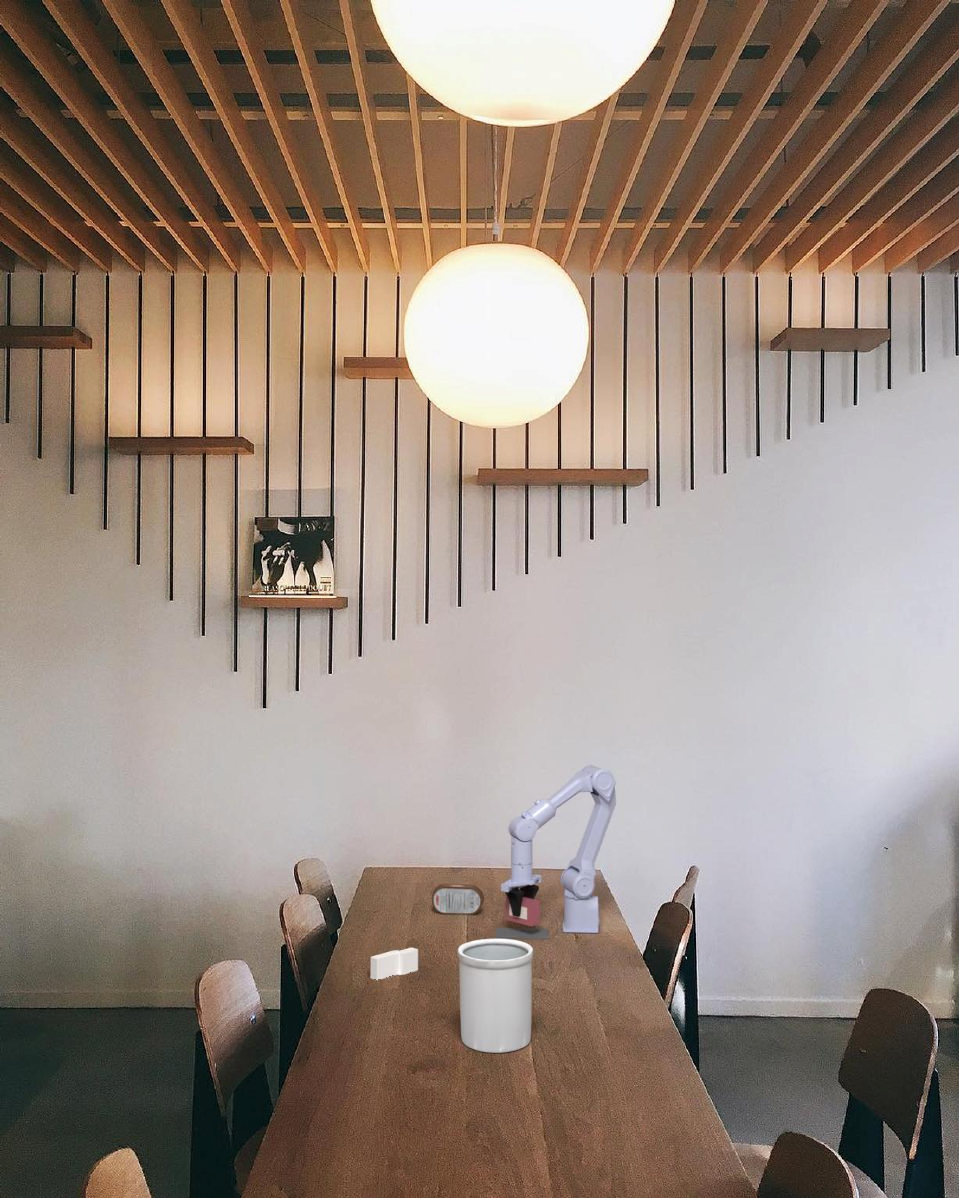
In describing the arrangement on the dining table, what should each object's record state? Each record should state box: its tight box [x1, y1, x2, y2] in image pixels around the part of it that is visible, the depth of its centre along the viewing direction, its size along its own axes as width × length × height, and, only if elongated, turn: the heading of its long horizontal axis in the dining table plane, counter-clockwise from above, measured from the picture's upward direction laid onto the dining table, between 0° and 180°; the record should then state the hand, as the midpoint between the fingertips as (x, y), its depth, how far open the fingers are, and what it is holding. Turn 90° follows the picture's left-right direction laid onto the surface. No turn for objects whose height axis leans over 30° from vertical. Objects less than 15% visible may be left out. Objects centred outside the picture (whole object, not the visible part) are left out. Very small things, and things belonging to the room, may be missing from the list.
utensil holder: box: [457, 938, 534, 1054], centre depth 191 cm, size 15×15×18 cm
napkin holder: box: [370, 947, 419, 981], centre depth 228 cm, size 15×11×6 cm
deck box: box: [505, 896, 541, 927], centre depth 260 cm, size 4×9×6 cm, turn 47°
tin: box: [431, 882, 485, 916], centre depth 279 cm, size 15×3×8 cm, turn 84°
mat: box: [494, 927, 549, 940], centre depth 260 cm, size 14×8×1 cm, turn 86°
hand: (521, 914), depth 260 cm, fingers closed on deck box, 4 cm apart
